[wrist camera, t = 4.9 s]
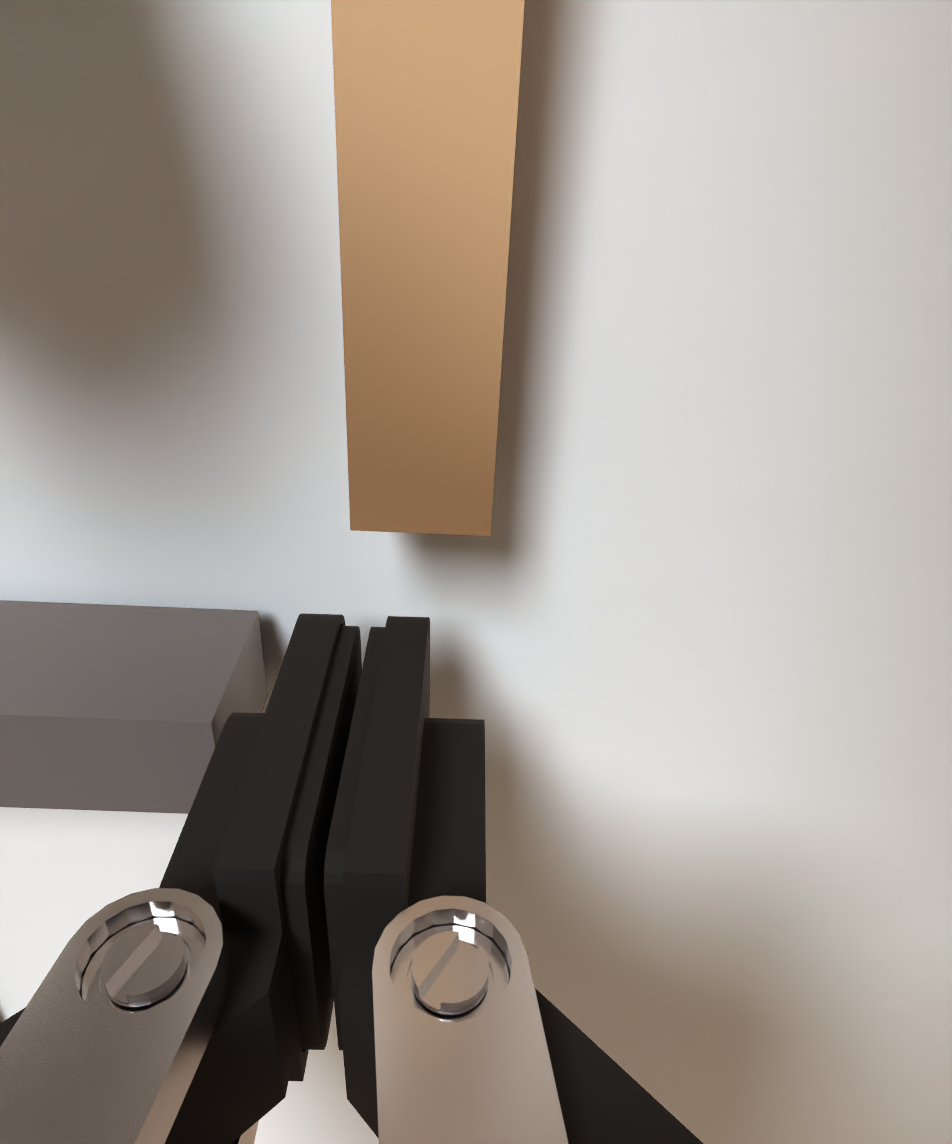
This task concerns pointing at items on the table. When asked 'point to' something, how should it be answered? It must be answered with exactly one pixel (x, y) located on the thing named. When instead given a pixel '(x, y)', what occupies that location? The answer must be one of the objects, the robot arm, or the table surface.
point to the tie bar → (119, 701)
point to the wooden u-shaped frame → (424, 252)
